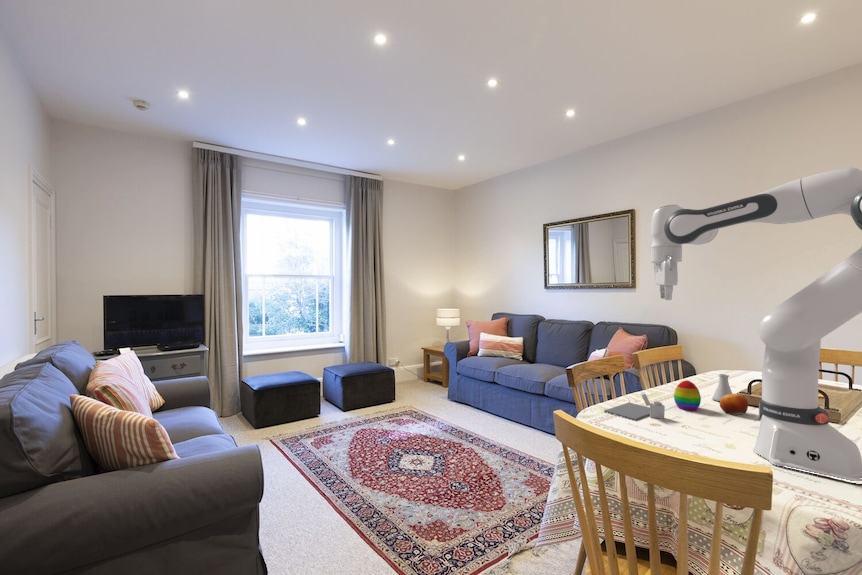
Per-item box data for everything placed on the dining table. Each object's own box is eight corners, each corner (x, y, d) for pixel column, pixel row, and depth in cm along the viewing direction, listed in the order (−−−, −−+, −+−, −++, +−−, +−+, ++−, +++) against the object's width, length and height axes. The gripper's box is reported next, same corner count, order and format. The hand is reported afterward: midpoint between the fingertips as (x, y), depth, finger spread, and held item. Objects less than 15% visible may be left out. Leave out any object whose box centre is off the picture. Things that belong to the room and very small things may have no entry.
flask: (707, 399, 159) (708, 373, 158) (719, 397, 162) (719, 372, 162) (728, 404, 152) (728, 377, 152) (739, 402, 155) (739, 375, 155)
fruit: (742, 415, 135) (730, 391, 139) (722, 421, 142) (711, 398, 146) (760, 413, 138) (748, 389, 142) (740, 418, 144) (729, 396, 148)
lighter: (663, 417, 138) (664, 393, 138) (664, 419, 137) (665, 395, 136) (639, 414, 140) (640, 391, 140) (640, 416, 139) (641, 393, 138)
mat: (659, 411, 144) (659, 409, 144) (635, 420, 135) (635, 418, 135) (628, 404, 153) (628, 402, 153) (604, 412, 144) (604, 410, 144)
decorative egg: (701, 413, 142) (701, 384, 142) (673, 409, 147) (673, 381, 147) (700, 407, 149) (700, 379, 149) (674, 403, 154) (674, 377, 153)
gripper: (683, 254, 122) (683, 301, 122) (671, 257, 141) (671, 298, 141) (659, 255, 124) (659, 300, 125) (651, 258, 143) (651, 297, 144)
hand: (665, 299), depth 133 cm, fingers open, 8 cm apart
